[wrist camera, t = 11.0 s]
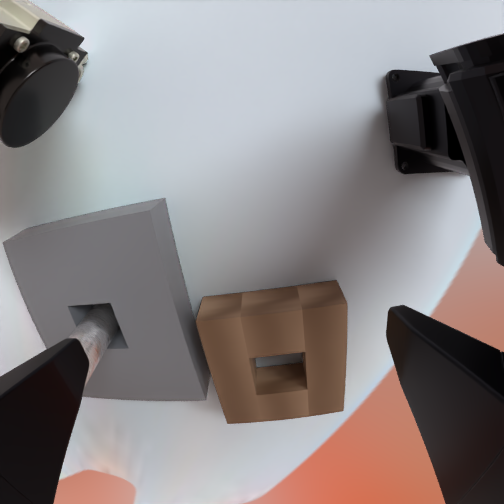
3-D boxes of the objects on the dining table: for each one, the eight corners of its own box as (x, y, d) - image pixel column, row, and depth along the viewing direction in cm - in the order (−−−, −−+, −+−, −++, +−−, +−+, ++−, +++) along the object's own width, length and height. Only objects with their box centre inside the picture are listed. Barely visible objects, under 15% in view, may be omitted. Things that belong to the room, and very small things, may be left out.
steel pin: (122, 290, 21) (68, 367, 14) (132, 318, 22) (88, 399, 14) (95, 292, 22) (37, 364, 14) (106, 320, 22) (56, 396, 15)
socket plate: (165, 197, 19) (149, 210, 16) (210, 373, 24) (206, 400, 21) (26, 228, 20) (2, 242, 17) (86, 373, 25) (73, 395, 22)
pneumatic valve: (95, 138, 17) (-54, 169, 6) (5, 58, 15) (-116, 54, 4) (148, 67, 16) (19, 13, 5) (46, -3, 13) (-67, -43, 2)
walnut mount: (336, 280, 21) (347, 302, 18) (336, 384, 24) (343, 410, 22) (203, 296, 21) (195, 321, 19) (229, 397, 25) (227, 423, 22)
